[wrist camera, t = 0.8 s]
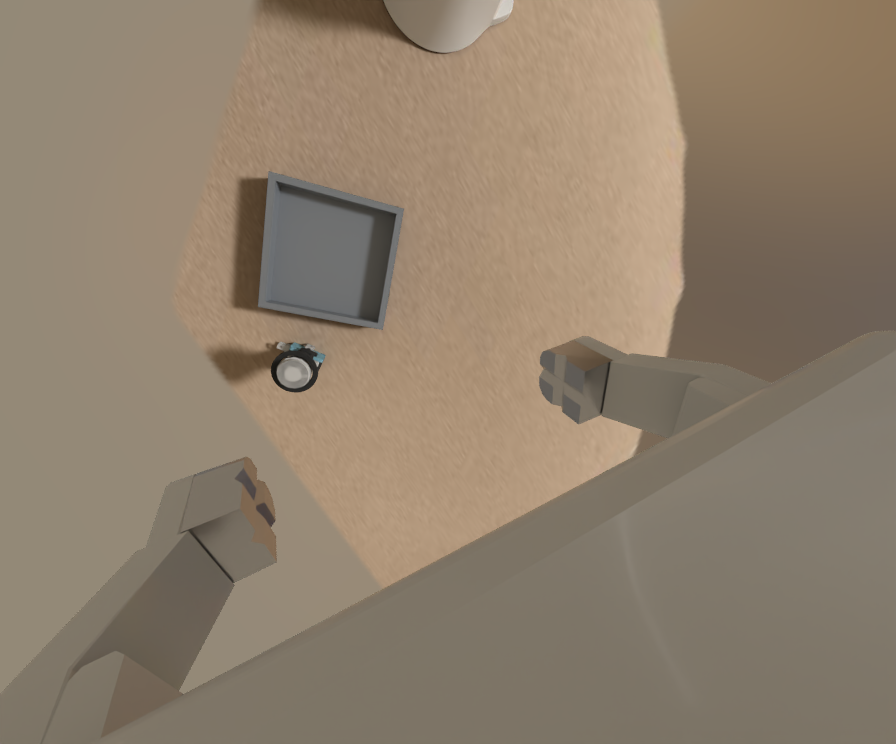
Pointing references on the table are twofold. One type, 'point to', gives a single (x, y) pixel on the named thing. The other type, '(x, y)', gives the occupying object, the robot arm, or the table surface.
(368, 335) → the table surface
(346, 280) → the dock tray
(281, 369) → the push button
